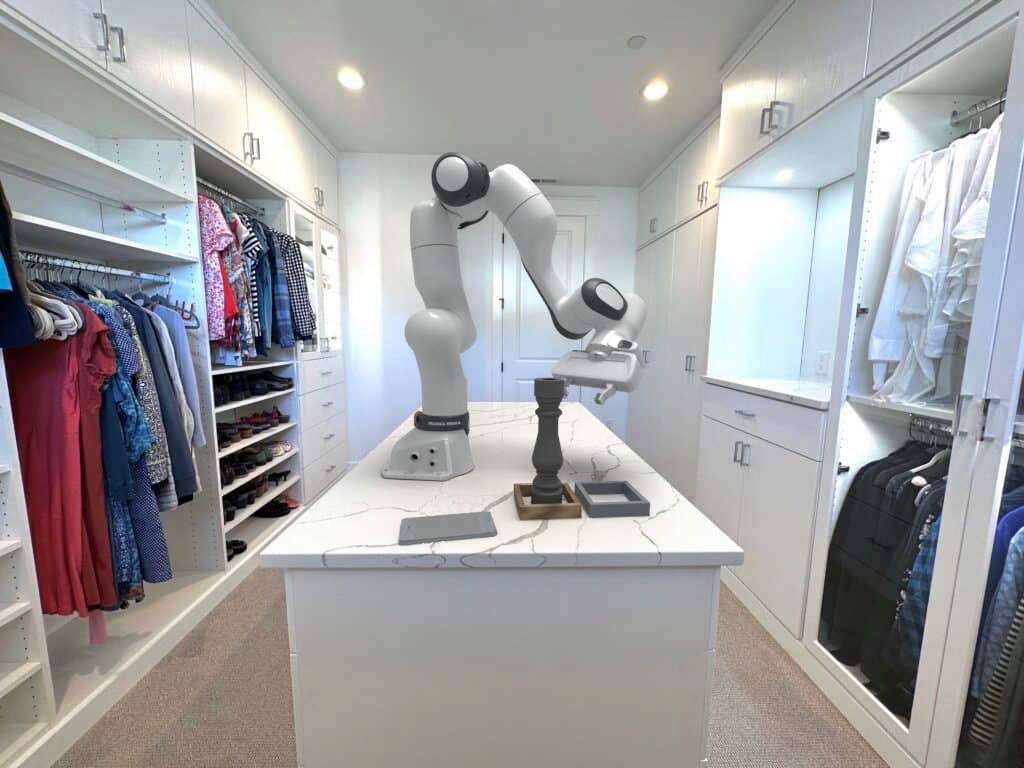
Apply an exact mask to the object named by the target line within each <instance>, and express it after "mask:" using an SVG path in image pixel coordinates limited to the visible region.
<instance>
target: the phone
mask: <svg viewBox="0 0 1024 768" xmlns="http://www.w3.org/2000/svg"><path fill="white" fill-rule="evenodd" d="M399 529H400V530H399V537H398V544H400V545H399V546H409V544H410V545H413V544H414V545H423V544H422V543H424V544H432V543H431V542H434V543H442V542H441V541H445V542H453V541H454V540H455V541H461V540H462V541H464V540H465V541H466V540H474V539H484V538H493V537H496V536H497V535H498V530H497V527H496V523H495V520H494V518H493V516H492V513H491V511H487V510H486V511H485V510H484V511H474V512H473V511H472V512H460V513H450V514H448V513H447V514H437V515H427V516H415V517H414V516H413V517H404V518H402V519H401V522H400V527H399Z"/></svg>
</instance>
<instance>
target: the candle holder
mask: <svg viewBox="0 0 1024 768" xmlns="http://www.w3.org/2000/svg"><path fill="white" fill-rule="evenodd" d="M533 383H534V384H533V390H534V391H533V395H534V397H535V399H534V400H535V402H536V403H537V406H538V408H536V409H535V410H534V413H535V415H536V416H537V419H538V420H537V424H538V425H537V436H536V438H535V443H534V447H533V450H532V455H531V462H532V465H533V468H534V469H535V473H536V475H535V476H534V478H533V479H532V482H531V483H533V487H532V488H531V496H530V504H559V503H563V498H564V496H563V490H562V488H561V487H560V486H561V485H562V483H561V482H562V481H561V479H560V478H559V476H558V474H559V473H560V472H559V470H560V469H561V468H562V466H564V465H563V464H564V455H563V451H562V445H561V441H560V436H559V418H560V417H561V416H562V415H563V410H562V409H560V405H561V403H562V401H563V398H562V397H563V396H564V379H561V378H554V377H538V378H534V382H533Z"/></svg>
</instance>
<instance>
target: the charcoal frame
mask: <svg viewBox="0 0 1024 768" xmlns="http://www.w3.org/2000/svg"><path fill="white" fill-rule="evenodd" d="M573 492H574V493H575V495H576V497H577V498H578V500H579V501H580V503H581V504H582V509H584V511H585V513H586V514H587V516H588V517H589V518H594V519H596V518H623V517H624V518H625V517H650V516H651V515H650V514H651V502H650V501H649V500H648V499H647V498H646V497H645V496H643V494H641V492H640V491H638V490H637V488H635V487H634V486H633V485H632V484H631V482H629V481H628V480H606V481H605V480H602V481H601V480H598V481H574V490H573ZM593 495H594V496H595V495H596V496H597V495H599V496H600V495H624V496H625V497H626V498H627V499H628V500H626V501H624V500H623V501H599V502H598V501H596V502H595V501H594V500H593V499H592V498H591V496H593Z"/></svg>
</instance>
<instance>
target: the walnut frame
mask: <svg viewBox="0 0 1024 768" xmlns="http://www.w3.org/2000/svg"><path fill="white" fill-rule="evenodd" d="M561 483H562V485H561V486H560V487H561V488H562V490H563V498H564V499H565V501H566V503H563V502H562V503H559V504H531V503H530V504H525V501H524V498H525V497H528V498H529V497H530V498H531V488H532V487H533V482H525V483H524V482H523V483H522V482H519V483H518V482H517V483H516V482H515V483H513V499H514V503H515V507H516V511H517V514H518V519H519V521H537V520H538V521H539V520H567V519H582V517H583V516H582V511H583V506H582V504H581V503H580V501H579V500H578V498H577V497H576V495H575V493H574V490H573V488H572V487H571V486H570V484H569V482H567V481H564V482H563V481H561Z"/></svg>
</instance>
